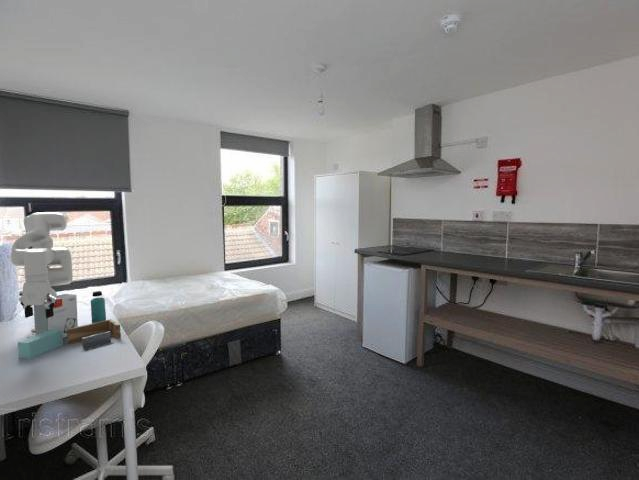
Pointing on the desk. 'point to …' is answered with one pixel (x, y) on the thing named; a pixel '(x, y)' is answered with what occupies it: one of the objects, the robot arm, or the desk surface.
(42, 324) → the hard drive box
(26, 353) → the mint green box
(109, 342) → the grey bookend
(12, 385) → the desk surface
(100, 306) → the beverage bottle
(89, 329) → the walnut rack
